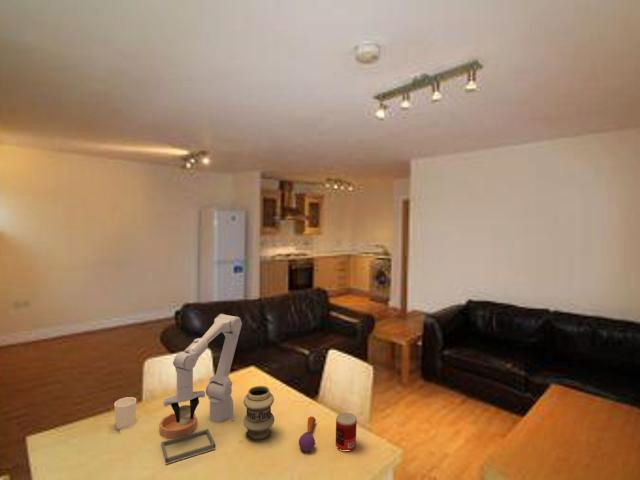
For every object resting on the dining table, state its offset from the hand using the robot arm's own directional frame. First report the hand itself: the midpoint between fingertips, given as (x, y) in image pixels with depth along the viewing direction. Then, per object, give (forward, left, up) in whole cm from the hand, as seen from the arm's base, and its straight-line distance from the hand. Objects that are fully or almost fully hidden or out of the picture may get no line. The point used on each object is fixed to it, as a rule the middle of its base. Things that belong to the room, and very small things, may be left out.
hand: (184, 419), depth 136 cm
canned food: (-52, +32, -9) cm, 62 cm away
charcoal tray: (0, +5, -9) cm, 10 cm away
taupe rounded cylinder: (0, 0, -1) cm, 1 cm away
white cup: (+19, -23, -9) cm, 31 cm away
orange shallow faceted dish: (+1, -9, -9) cm, 13 cm away
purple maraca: (-43, +20, -10) cm, 48 cm away
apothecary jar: (-26, +9, -9) cm, 29 cm away
